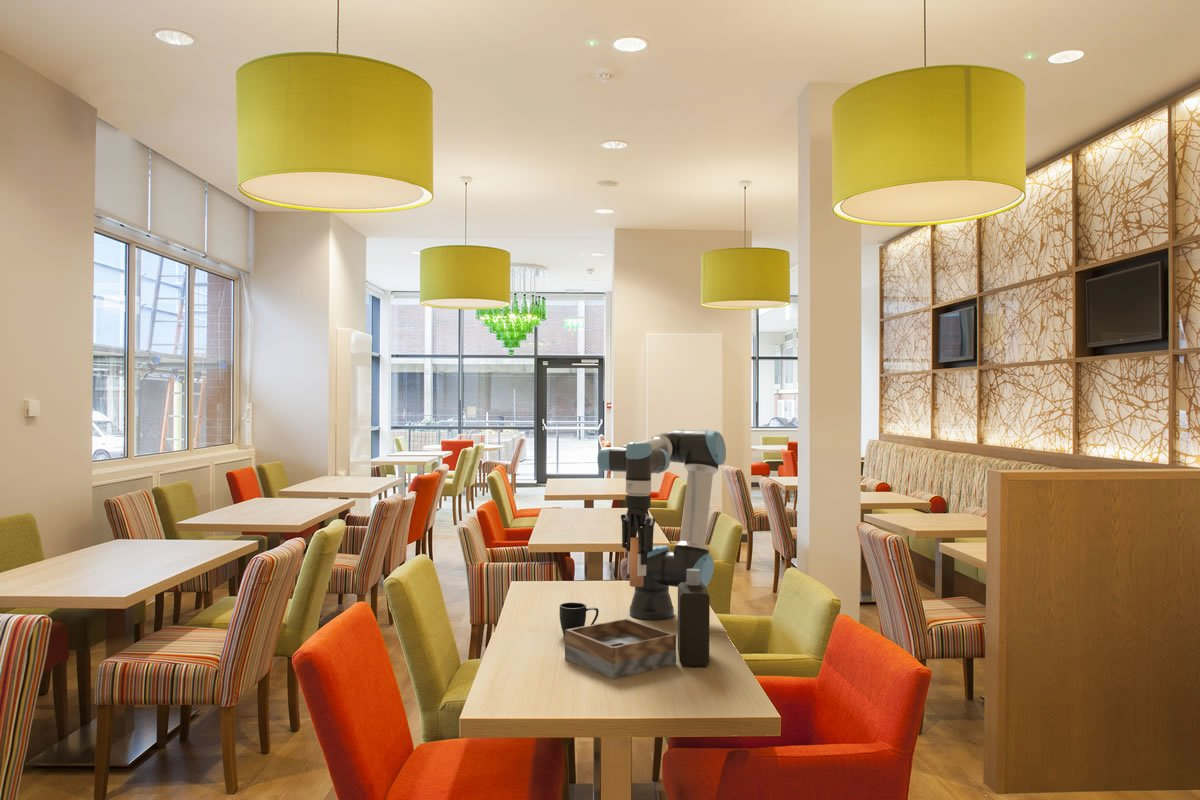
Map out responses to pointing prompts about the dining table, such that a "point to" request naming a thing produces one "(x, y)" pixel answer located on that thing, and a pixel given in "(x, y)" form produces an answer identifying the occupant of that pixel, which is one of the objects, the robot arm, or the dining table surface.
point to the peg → (634, 563)
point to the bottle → (693, 621)
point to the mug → (574, 615)
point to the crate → (620, 647)
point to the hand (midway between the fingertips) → (636, 574)
